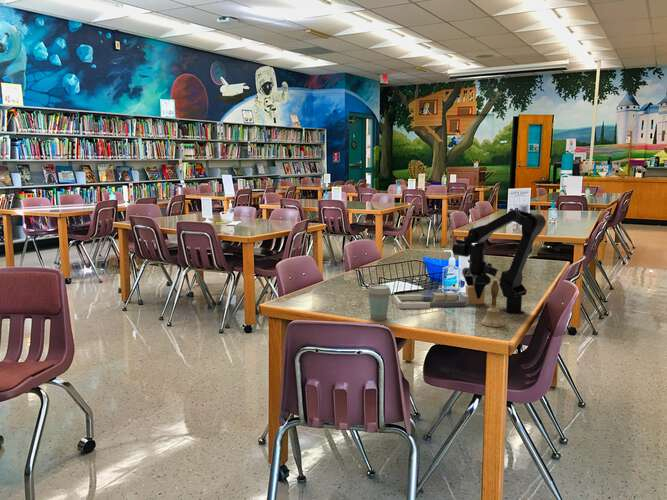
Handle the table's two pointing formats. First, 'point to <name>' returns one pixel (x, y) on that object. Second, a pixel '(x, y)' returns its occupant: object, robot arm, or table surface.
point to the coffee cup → (378, 301)
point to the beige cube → (450, 297)
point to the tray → (409, 305)
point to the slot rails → (444, 302)
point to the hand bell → (493, 310)
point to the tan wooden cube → (438, 297)
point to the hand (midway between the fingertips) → (475, 295)
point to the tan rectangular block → (472, 296)
